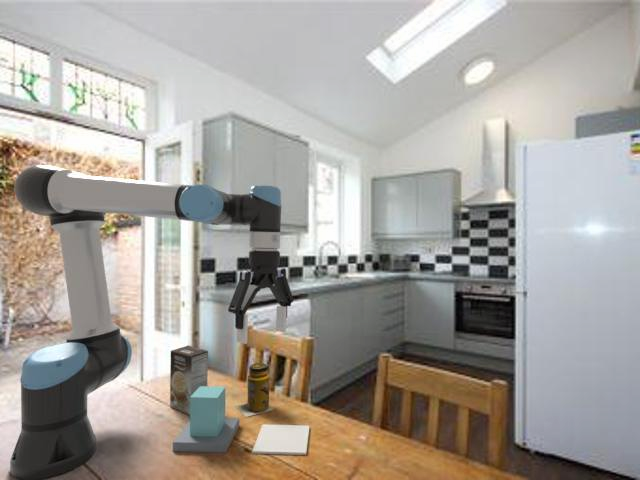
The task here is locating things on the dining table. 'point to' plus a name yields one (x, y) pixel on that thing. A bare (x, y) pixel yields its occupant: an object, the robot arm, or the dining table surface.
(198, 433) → the teal rectangular block
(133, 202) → the robot arm
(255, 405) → the condiment
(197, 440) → the post base
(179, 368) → the coffee box
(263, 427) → the mat
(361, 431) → the dining table surface
